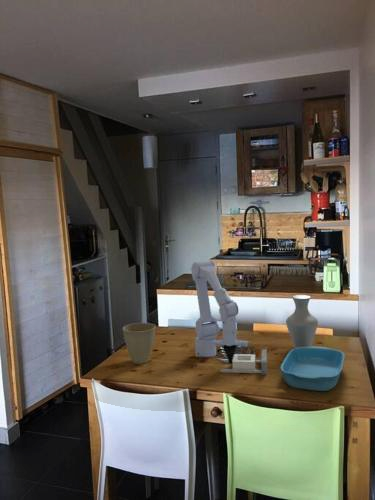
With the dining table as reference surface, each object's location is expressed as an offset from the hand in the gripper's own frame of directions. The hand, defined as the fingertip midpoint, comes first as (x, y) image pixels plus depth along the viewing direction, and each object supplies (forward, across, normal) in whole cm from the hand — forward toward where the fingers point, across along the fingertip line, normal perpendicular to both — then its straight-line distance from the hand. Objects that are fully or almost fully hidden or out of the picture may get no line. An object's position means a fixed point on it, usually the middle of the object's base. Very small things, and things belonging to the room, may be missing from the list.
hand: (230, 362), depth 184 cm
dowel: (+3, +5, +15) cm, 16 cm away
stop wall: (+2, +14, 0) cm, 14 cm away
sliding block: (+2, +6, 0) cm, 6 cm away
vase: (+3, +31, +28) cm, 42 cm away
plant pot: (+3, -42, +7) cm, 42 cm away
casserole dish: (+3, +33, -5) cm, 34 cm away
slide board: (+3, +5, 0) cm, 6 cm away
